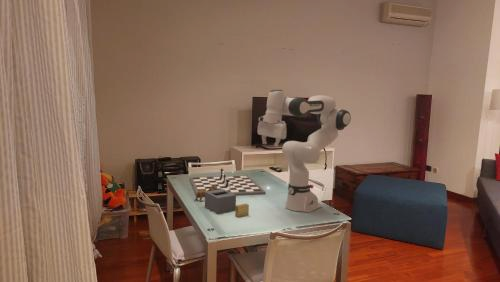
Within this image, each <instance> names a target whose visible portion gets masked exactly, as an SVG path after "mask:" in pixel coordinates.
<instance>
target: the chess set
mask: <svg viewBox="0 0 500 282" xmlns="http://www.w3.org/2000/svg"><path fill="white" fill-rule="evenodd" d="M219 170H220V176H190V177H189V182H190V184H191V187H192V189H193V192H194V194H195V196H196V195H197V192H198V191H200V190H203V191H207V190H209V189H210V188H212V186H217V190H219V189H224V190H226V191H228V192H231V193H233V194H235V195H236V197H238V196H255V195H258V196H261V195H266V191H265V190H264V189H263V188H262V187H261V186H260V185H258V183H257V182H256V181H254V179H252V178H251V177H250V176H249V175H226V174H225V171H224V168H220V169H219ZM197 196H198V195H197ZM202 198H205V196H202Z"/></svg>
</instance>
